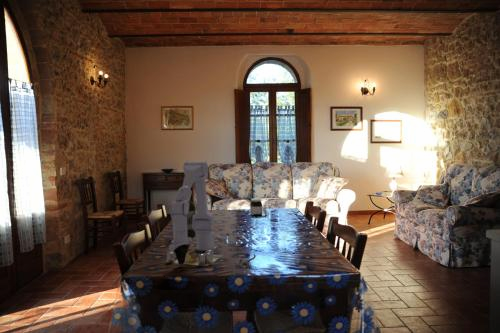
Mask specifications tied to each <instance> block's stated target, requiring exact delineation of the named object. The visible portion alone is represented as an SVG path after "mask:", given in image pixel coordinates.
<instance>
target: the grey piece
mask: <svg viewBox="0 0 500 333" xmlns="http://www.w3.org/2000/svg"><path fill="white" fill-rule="evenodd" d="M213 255H214V249H210V250H205V252H204V253H198V265H197V266H200V265H205V264H209V265H211V264H213V262H212V260H213ZM166 259H167V260H166V261H167V262H168V264H174V263H173V262H175V260H177V257H176V254H175V252H174V251H173V250H169V251H167V252H166ZM167 262H166V263H167Z"/></svg>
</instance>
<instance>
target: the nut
mask: <svg viewBox="0 0 500 333" xmlns="http://www.w3.org/2000/svg"><path fill="white" fill-rule="evenodd" d="M196 253H197V252H195V251H194V252H193V251H191V252H187V254H186V262H195V261H196Z"/></svg>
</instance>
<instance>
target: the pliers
mask: <svg viewBox="0 0 500 333" xmlns="http://www.w3.org/2000/svg"><path fill="white" fill-rule="evenodd" d="M256 257H257V256H256V254H255V253H253V257H251V258H249V259H247V260H242V259H240V260H239V262H240V263H239V267H240V268H241V269H242V268H243V267H244V265H245V266H246V268H247V267H248V268H249V267H250V266H251V265H250V262H251V261H252V260H254V259H255V258H256Z"/></svg>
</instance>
